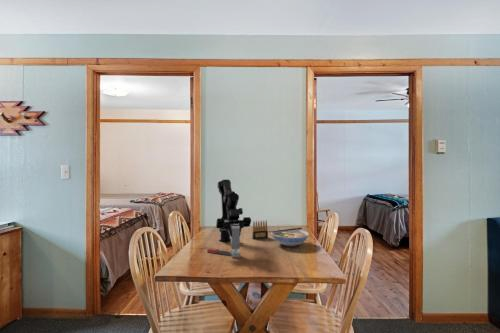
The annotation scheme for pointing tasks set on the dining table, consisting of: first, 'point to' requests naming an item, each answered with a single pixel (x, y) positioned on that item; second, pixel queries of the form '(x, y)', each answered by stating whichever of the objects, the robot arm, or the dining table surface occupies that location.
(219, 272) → the dining table surface
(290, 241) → the ramen bowl
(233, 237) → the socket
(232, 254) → the ratchet
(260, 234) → the ammunition clip
